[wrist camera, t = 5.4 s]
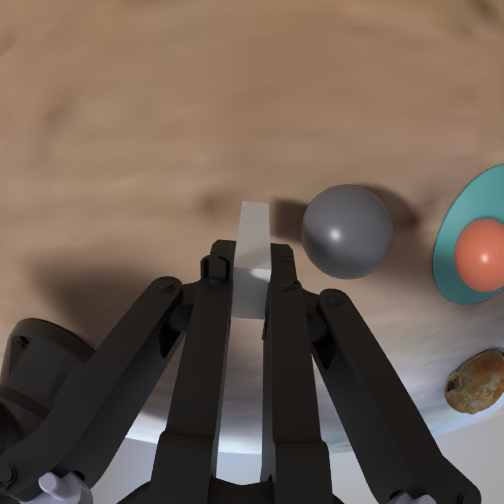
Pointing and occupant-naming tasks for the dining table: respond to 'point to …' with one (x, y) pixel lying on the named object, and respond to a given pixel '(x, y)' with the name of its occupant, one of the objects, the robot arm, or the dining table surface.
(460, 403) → the bread roll
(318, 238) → the gray ball
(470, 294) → the teal mark
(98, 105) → the dining table surface
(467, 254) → the red ball
